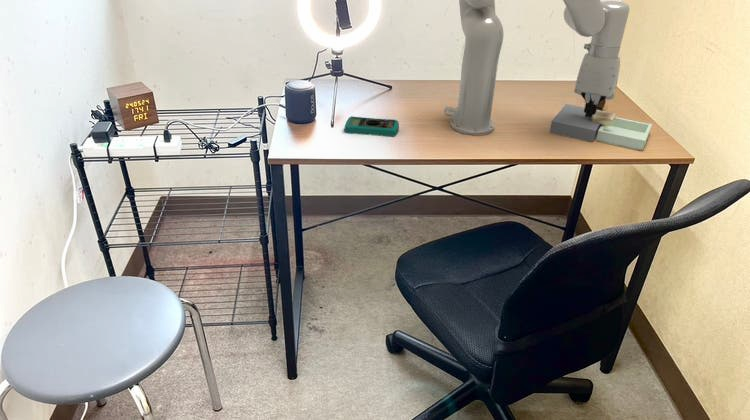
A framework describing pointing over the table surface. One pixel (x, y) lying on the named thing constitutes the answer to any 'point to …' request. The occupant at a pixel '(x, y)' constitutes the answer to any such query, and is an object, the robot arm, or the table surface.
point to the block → (604, 118)
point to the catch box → (625, 133)
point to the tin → (600, 105)
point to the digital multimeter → (372, 126)
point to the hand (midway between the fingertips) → (588, 115)
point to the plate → (574, 124)
